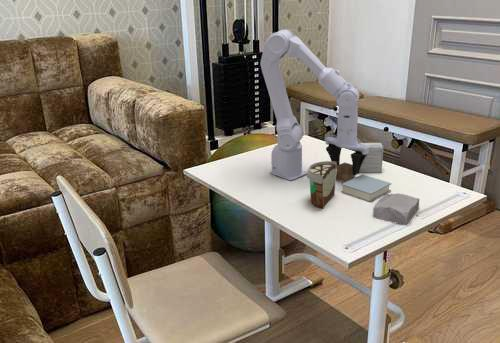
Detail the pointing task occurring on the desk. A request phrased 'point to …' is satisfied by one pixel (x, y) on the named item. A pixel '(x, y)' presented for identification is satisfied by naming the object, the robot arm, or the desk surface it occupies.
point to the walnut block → (344, 172)
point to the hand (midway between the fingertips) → (345, 171)
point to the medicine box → (372, 159)
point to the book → (366, 187)
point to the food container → (322, 182)
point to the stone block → (396, 208)
